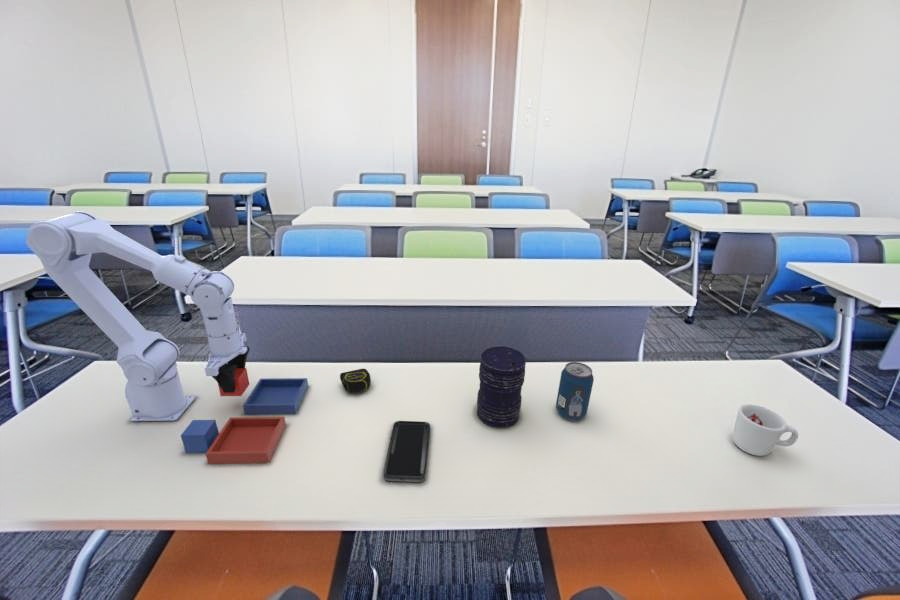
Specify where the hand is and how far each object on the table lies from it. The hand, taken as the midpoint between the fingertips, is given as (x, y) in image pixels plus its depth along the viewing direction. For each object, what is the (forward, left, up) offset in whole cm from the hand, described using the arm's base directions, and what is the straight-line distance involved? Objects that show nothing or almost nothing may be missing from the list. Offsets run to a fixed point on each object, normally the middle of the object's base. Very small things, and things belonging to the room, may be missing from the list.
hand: (234, 384), depth 88 cm
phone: (+39, -15, -6) cm, 42 cm away
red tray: (+7, -12, -6) cm, 15 cm away
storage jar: (+59, -4, -6) cm, 60 cm away
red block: (0, 0, -1) cm, 1 cm away
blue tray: (+8, +2, -6) cm, 10 cm away
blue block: (-2, -12, -6) cm, 13 cm away
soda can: (+76, -4, -6) cm, 76 cm away
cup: (+112, -16, -6) cm, 113 cm away
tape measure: (+25, +7, -6) cm, 27 cm away
